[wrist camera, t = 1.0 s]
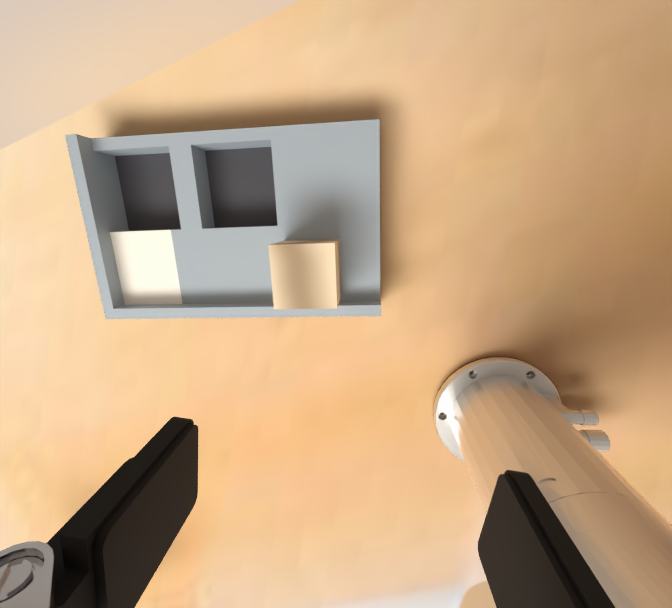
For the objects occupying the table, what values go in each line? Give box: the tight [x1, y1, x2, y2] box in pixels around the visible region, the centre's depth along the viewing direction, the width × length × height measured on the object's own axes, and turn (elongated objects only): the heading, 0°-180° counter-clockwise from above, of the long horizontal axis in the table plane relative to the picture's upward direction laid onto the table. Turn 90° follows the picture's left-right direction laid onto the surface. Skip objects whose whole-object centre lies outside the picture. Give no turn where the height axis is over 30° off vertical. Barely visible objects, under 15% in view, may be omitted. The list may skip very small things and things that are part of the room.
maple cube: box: [268, 239, 342, 309], centre depth 27 cm, size 5×5×5 cm
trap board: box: [65, 119, 381, 319], centre depth 30 cm, size 26×16×4 cm, turn 92°
